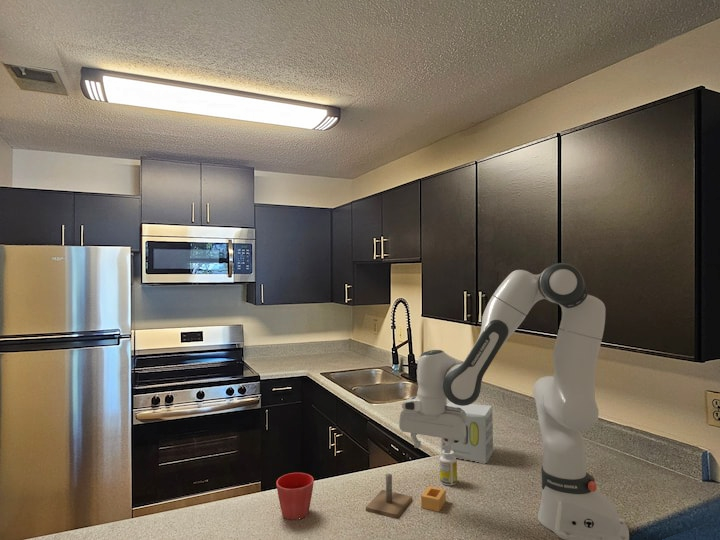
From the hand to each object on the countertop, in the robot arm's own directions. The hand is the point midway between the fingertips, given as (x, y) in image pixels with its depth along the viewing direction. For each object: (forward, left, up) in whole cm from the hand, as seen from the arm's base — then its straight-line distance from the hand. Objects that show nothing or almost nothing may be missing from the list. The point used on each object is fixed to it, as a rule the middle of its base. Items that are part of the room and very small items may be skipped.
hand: (432, 450), depth 139 cm
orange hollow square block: (0, 0, -16) cm, 16 cm away
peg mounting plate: (+12, +6, -16) cm, 21 cm away
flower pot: (+35, +22, -17) cm, 44 cm away
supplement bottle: (0, -16, -17) cm, 23 cm away
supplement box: (0, -42, -17) cm, 45 cm away
